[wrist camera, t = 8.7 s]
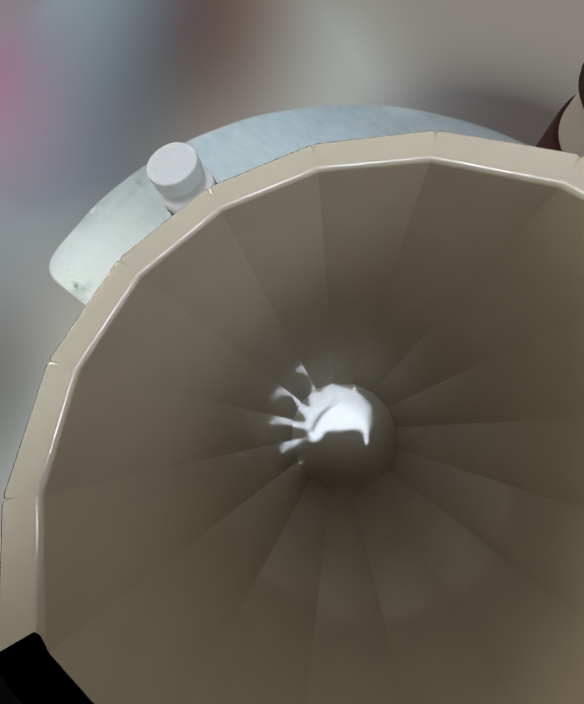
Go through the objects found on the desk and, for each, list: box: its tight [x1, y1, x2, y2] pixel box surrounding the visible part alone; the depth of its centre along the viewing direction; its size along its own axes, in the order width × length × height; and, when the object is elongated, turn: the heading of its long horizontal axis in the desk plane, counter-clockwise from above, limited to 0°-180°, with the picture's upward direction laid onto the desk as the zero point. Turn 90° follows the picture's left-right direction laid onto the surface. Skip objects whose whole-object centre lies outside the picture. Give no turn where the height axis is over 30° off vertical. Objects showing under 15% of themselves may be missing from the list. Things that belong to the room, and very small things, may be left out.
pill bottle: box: [147, 142, 217, 215], centre depth 24 cm, size 5×5×8 cm
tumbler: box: [0, 131, 584, 704], centre depth 9 cm, size 6×6×14 cm
